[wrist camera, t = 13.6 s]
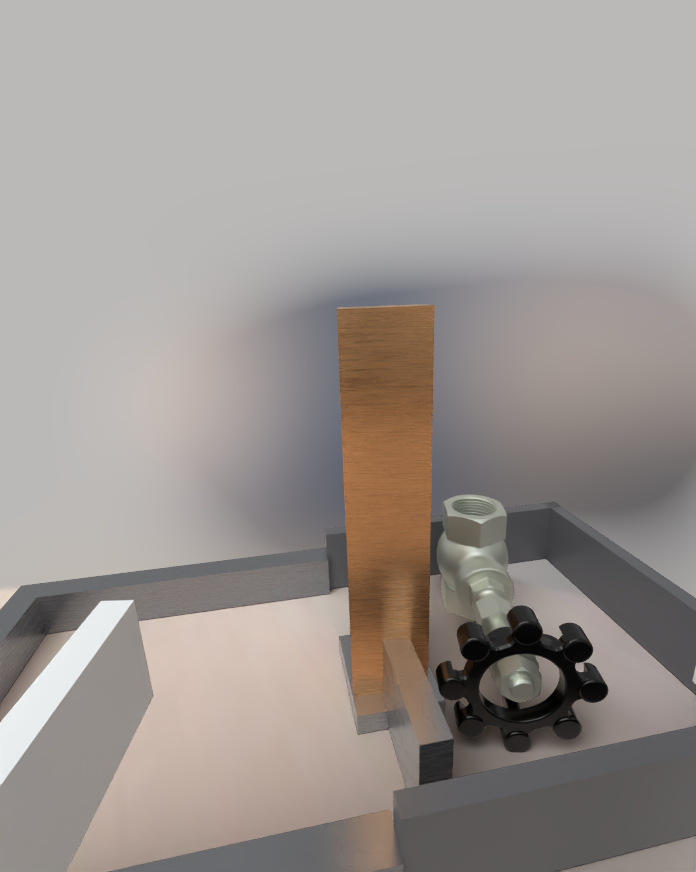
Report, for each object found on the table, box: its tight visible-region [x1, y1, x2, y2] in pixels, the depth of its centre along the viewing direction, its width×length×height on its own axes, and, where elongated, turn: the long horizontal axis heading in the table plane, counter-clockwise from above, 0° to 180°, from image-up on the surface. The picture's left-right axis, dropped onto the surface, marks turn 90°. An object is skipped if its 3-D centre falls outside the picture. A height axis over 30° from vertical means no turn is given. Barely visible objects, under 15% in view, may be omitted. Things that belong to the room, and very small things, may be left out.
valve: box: [436, 495, 608, 752], centre depth 24 cm, size 7×7×12 cm
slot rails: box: [0, 548, 403, 872], centre depth 21 cm, size 18×18×2 cm
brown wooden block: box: [337, 305, 454, 788], centre depth 20 cm, size 13×4×18 cm, turn 10°
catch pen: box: [324, 502, 696, 872], centre depth 23 cm, size 18×16×4 cm
